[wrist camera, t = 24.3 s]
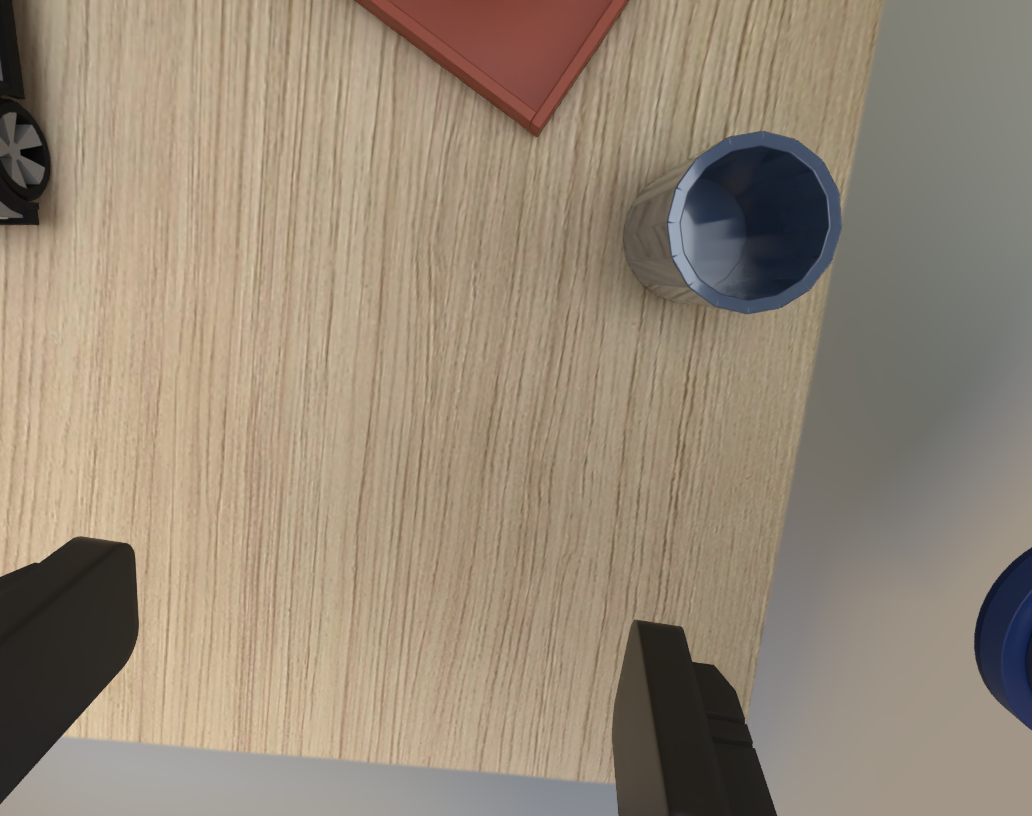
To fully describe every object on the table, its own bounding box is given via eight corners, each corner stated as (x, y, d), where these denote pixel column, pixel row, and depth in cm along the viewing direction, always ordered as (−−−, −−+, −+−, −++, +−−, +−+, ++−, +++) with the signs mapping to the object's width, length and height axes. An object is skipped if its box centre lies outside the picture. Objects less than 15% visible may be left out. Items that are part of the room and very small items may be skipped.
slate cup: (777, 220, 34) (877, 202, 25) (698, 326, 35) (767, 346, 26) (675, 141, 33) (741, 94, 24) (597, 252, 34) (633, 246, 25)
